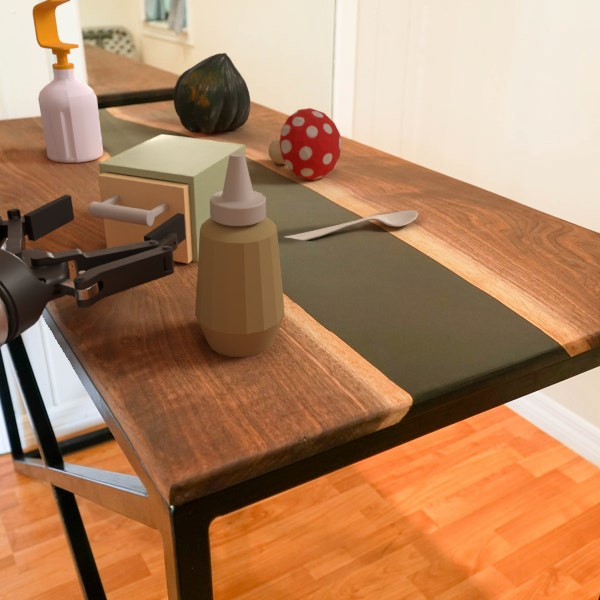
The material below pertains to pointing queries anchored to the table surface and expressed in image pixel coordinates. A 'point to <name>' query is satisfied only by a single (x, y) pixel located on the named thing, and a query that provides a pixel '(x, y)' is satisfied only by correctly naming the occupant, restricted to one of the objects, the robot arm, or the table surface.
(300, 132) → the decorative mushroom
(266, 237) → the squeeze bottle
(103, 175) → the drawer
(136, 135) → the table surface
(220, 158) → the cabinet
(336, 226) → the spoon
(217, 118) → the squash
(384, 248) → the table surface
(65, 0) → the soap bottle
